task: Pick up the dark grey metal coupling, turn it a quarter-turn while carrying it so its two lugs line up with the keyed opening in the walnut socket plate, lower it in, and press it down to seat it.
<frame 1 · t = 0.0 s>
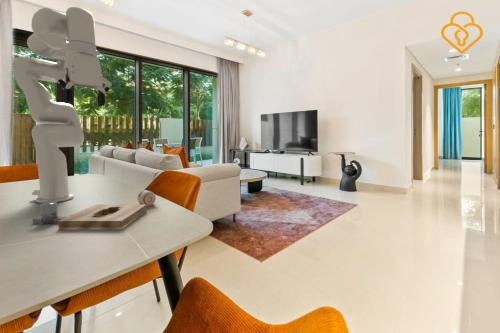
hand: (86, 104, 85), 37 cm above the table, tool pointing down, fingers open, 9 cm apart
socket plate: (107, 219, 82), on the table
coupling: (50, 222, 79), on the table
roller toy: (147, 206, 99), on the table
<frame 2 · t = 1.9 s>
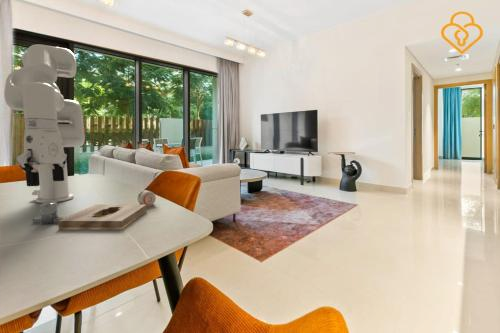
hand: (46, 183, 77), 12 cm above the table, tool pointing down, fingers open, 9 cm apart
nothing on the table moved.
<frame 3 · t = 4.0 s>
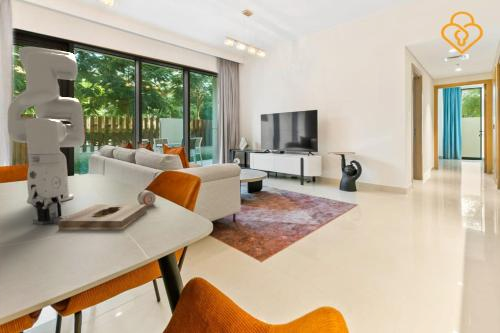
hand: (50, 218, 79), 1 cm above the table, tool pointing down, fingers closed on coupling, 4 cm apart
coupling: (50, 222, 79), on the table, touching gripper
everything else where it was.
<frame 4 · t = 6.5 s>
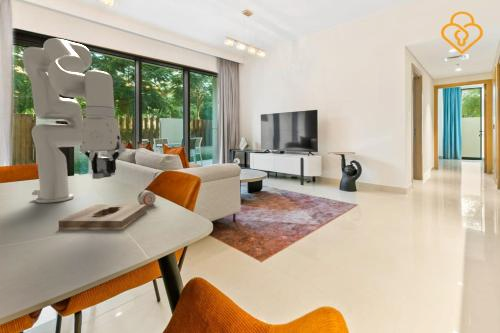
hand: (104, 172, 80), 15 cm above the table, tool pointing down, fingers closed on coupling, 4 cm apart
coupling: (104, 176, 80), point 14 cm above the table, touching gripper
everything else where it was.
when the fingers open (4 cm above the table, at t = 9.2 s): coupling drops 2 cm, resting on socket plate.
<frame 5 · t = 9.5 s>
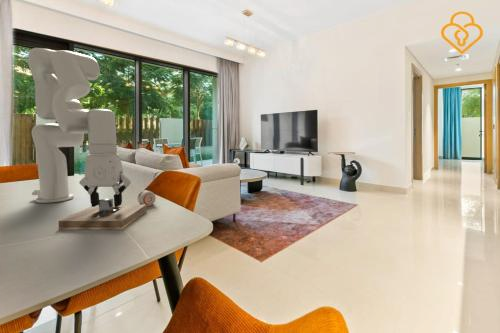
hand: (106, 205, 82), 5 cm above the table, tool pointing down, fingers open, 6 cm apart
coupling: (106, 217, 82), resting on socket plate
everything else where it was.
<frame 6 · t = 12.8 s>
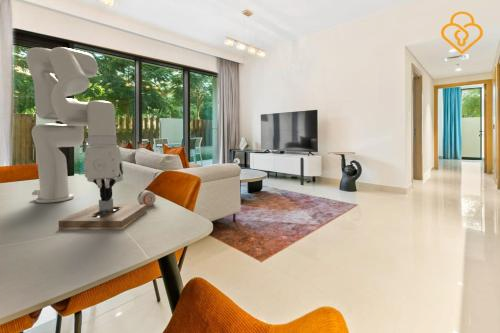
hand: (106, 199, 81), 7 cm above the table, tool pointing down, fingers closed
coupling: (106, 217, 82), point 1 cm above the table, touching gripper, socket plate
everything else where it was.
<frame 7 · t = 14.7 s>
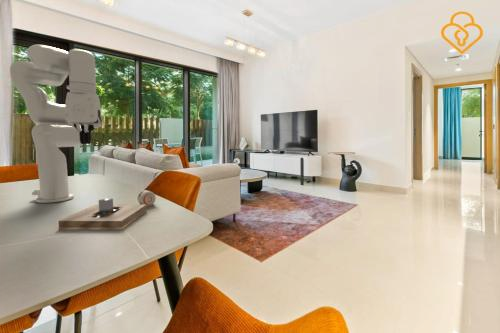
hand: (85, 143, 89), 24 cm above the table, tool pointing down, fingers closed
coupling: (106, 217, 82), resting on socket plate
everything else where it was.
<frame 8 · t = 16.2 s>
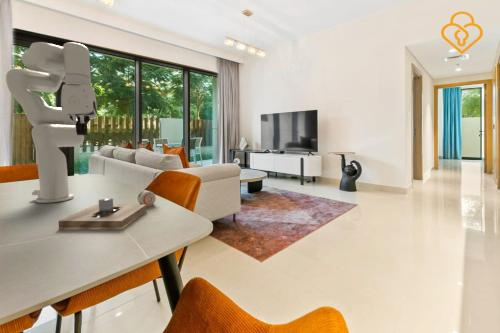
hand: (82, 134, 91), 27 cm above the table, tool pointing down, fingers closed
nothing on the table moved.
at the end: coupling 0.2 cm off-centre on the socket plate, point 0.5 cm above the socket plate's base; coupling tilted 0°; the gripper is holding nothing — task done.
